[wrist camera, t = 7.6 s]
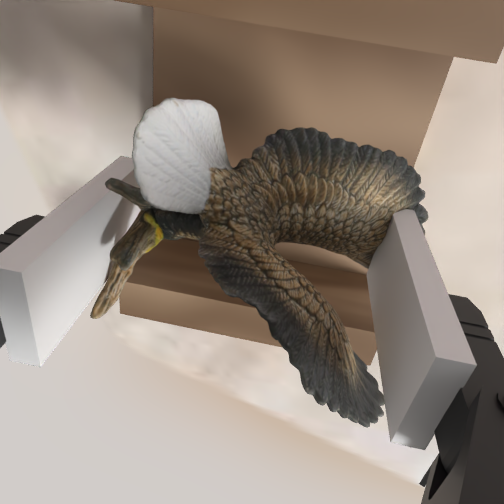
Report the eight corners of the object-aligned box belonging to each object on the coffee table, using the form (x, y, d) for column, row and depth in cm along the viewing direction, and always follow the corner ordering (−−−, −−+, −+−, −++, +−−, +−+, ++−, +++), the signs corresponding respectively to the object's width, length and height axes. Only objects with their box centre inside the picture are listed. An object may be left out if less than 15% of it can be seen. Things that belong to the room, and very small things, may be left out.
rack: (160, -81, 16) (98, -106, 12) (479, -31, 15) (539, -39, 11) (157, 262, 25) (120, 321, 20) (359, 303, 24) (367, 372, 20)
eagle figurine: (143, 305, 16) (369, 398, 15) (12, 331, 9) (416, 510, 8) (211, 120, 16) (444, 195, 15) (130, 3, 9) (559, 123, 8)
